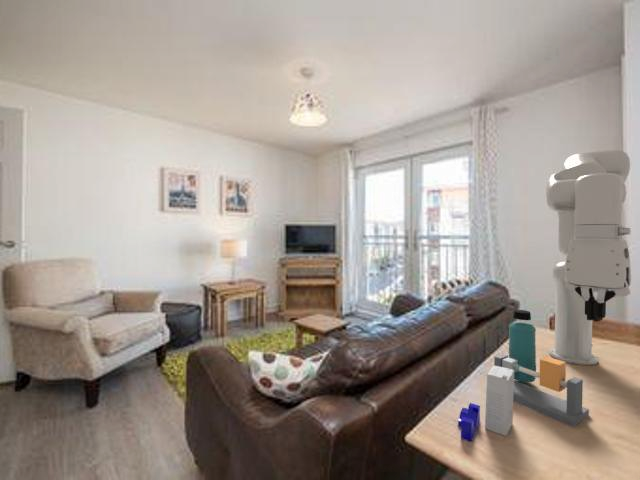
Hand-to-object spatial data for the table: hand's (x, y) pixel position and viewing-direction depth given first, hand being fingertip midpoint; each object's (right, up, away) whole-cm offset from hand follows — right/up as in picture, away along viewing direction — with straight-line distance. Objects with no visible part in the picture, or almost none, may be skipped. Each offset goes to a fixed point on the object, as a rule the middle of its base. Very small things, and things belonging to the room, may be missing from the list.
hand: (594, 319), depth 69 cm
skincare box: (-20, -23, +1) cm, 31 cm away
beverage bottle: (-3, -23, +21) cm, 31 cm away
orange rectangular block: (-4, -18, +7) cm, 19 cm away
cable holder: (-27, -24, 0) cm, 36 cm away
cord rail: (-6, -23, +11) cm, 26 cm away
